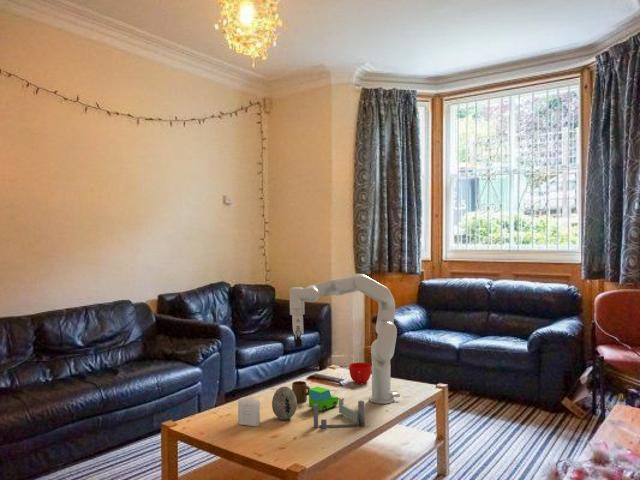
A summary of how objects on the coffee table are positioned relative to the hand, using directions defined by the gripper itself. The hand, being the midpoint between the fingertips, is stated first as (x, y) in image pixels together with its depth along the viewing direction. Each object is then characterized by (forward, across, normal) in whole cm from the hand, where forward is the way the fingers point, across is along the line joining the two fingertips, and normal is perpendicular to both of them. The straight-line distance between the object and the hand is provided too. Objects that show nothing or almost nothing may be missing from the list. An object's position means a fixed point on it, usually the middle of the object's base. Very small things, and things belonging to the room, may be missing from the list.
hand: (297, 344), depth 255 cm
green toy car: (+31, -8, -12) cm, 34 cm away
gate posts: (+30, -35, -16) cm, 48 cm away
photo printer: (+30, -25, +25) cm, 46 cm away
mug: (+30, +2, -2) cm, 30 cm away
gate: (+29, -25, -22) cm, 44 cm away
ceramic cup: (+30, +28, -38) cm, 56 cm away
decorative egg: (+30, -21, +8) cm, 38 cm away
